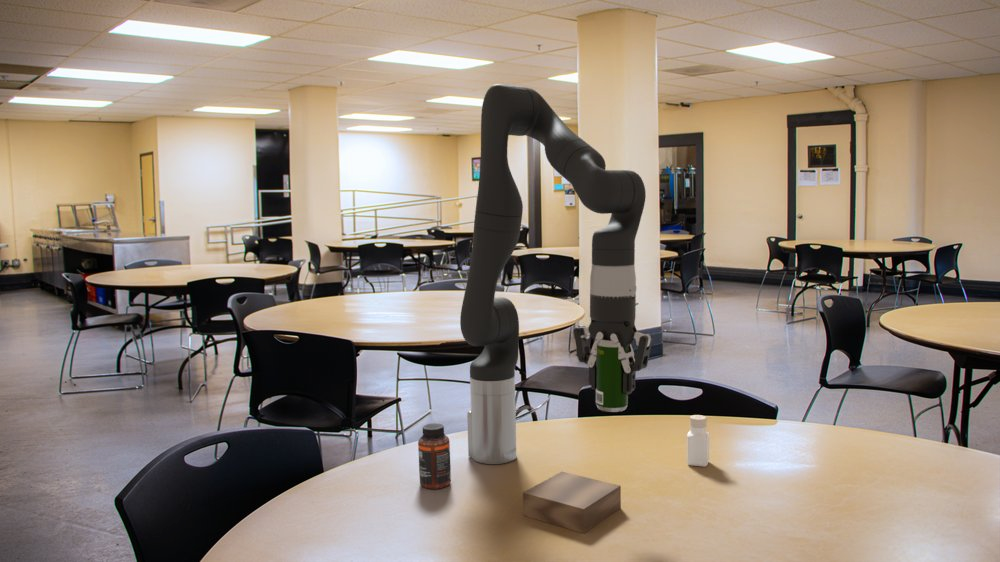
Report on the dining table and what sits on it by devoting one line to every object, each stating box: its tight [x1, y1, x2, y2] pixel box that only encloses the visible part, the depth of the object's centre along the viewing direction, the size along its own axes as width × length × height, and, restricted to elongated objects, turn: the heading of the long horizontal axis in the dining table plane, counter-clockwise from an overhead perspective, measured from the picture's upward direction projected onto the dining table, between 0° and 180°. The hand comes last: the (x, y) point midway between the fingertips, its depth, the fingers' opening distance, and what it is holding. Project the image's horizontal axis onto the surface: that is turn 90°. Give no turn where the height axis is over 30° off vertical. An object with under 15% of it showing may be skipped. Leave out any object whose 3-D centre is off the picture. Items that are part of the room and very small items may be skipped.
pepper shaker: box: [686, 414, 710, 468], centre depth 149 cm, size 4×4×10 cm
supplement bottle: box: [417, 422, 452, 490], centre depth 142 cm, size 6×6×11 cm
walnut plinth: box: [522, 471, 622, 534], centre depth 128 cm, size 12×12×4 cm
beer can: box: [595, 339, 629, 413], centre depth 126 cm, size 5×5×12 cm
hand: (611, 390), depth 127 cm, fingers closed on beer can, 5 cm apart
